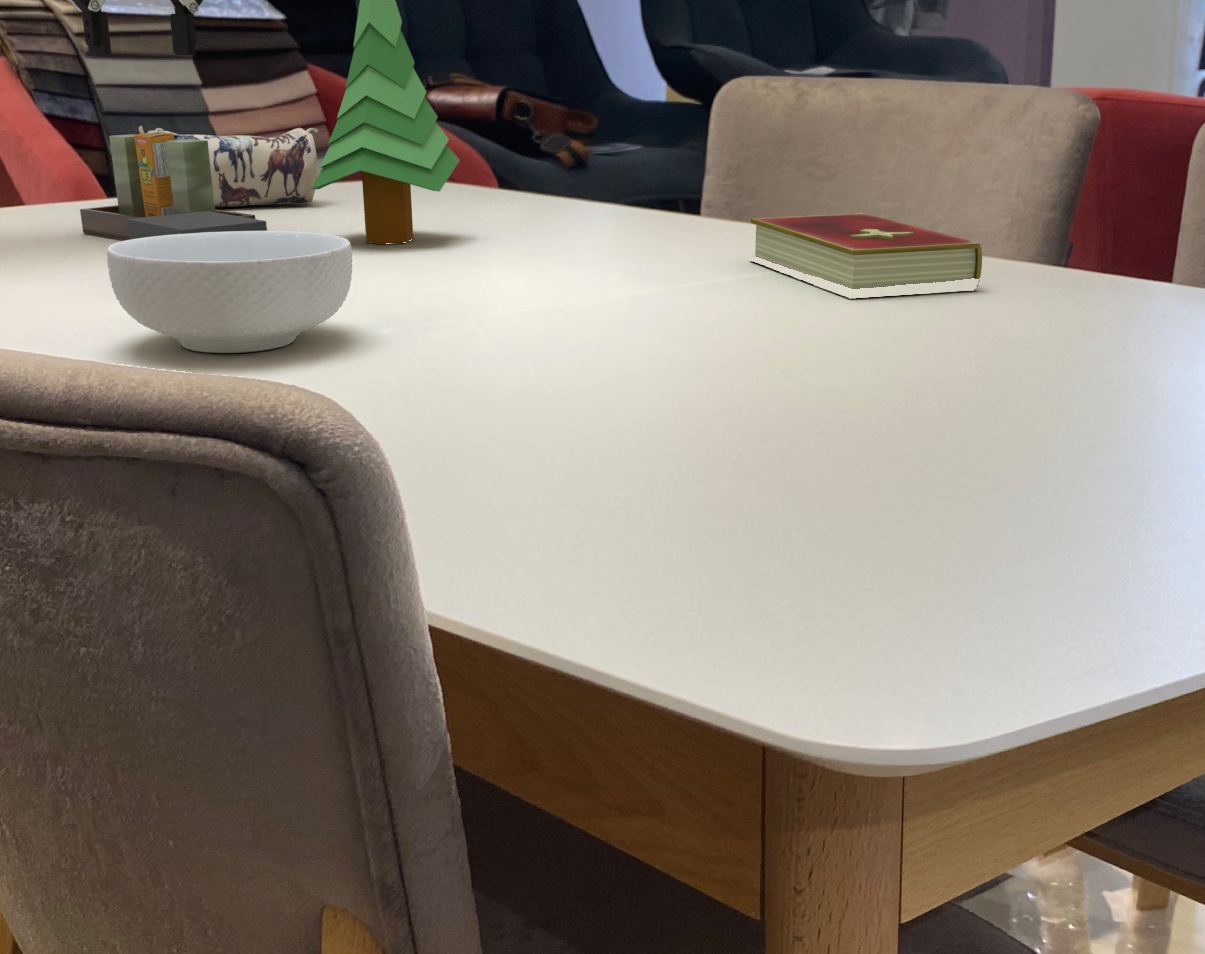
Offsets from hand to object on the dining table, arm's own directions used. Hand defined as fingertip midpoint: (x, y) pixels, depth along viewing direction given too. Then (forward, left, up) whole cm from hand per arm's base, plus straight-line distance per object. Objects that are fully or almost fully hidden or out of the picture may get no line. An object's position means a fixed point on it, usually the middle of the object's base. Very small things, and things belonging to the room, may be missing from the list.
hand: (143, 55), depth 148 cm
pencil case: (+20, +17, -18) cm, 32 cm away
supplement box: (0, 0, -18) cm, 18 cm away
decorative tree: (+13, -21, -18) cm, 31 cm away
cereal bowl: (-27, -52, -18) cm, 61 cm away
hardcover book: (+26, -70, -18) cm, 77 cm away
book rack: (0, 0, -18) cm, 18 cm away
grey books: (-14, -28, -18) cm, 36 cm away
